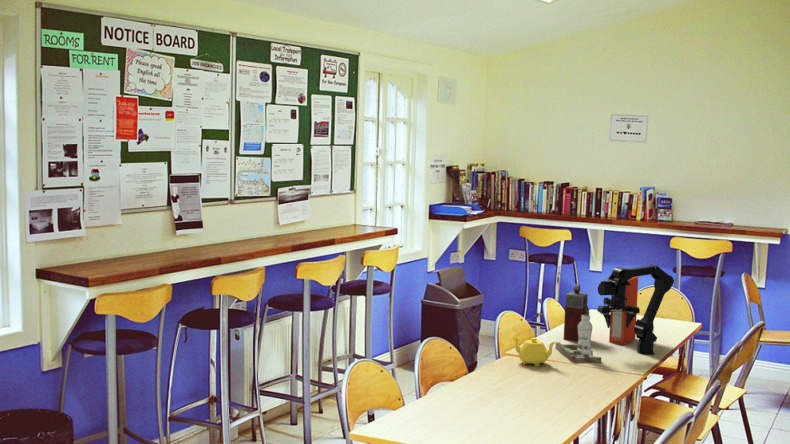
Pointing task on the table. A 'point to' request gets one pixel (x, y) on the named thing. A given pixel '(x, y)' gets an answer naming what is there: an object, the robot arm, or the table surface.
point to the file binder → (624, 317)
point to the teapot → (533, 351)
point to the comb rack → (574, 353)
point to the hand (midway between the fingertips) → (617, 327)
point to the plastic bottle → (584, 337)
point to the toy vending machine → (574, 313)
